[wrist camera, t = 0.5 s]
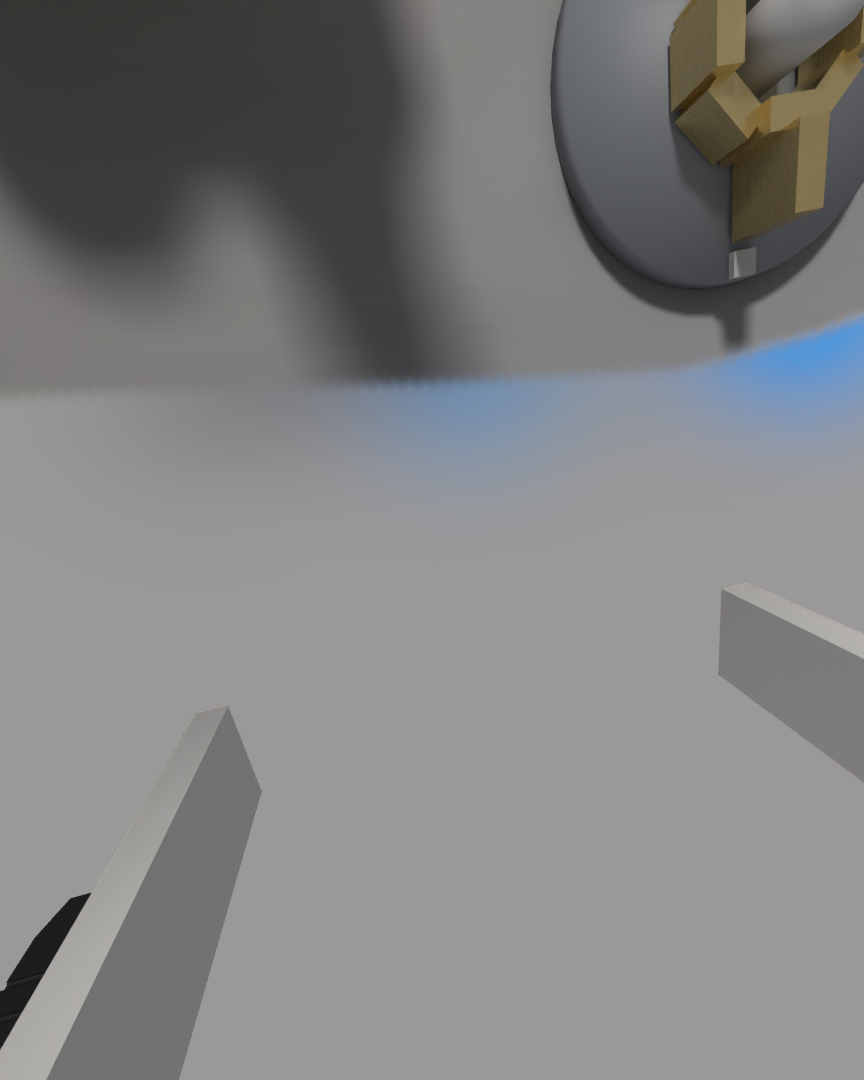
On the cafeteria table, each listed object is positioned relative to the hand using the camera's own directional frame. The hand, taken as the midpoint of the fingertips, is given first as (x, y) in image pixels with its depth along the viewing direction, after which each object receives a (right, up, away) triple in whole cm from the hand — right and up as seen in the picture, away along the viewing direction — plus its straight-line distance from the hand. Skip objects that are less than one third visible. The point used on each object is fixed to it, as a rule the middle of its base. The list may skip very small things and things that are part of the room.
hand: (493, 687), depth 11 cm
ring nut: (+20, +34, +18) cm, 44 cm away
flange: (+19, +37, +20) cm, 46 cm away
